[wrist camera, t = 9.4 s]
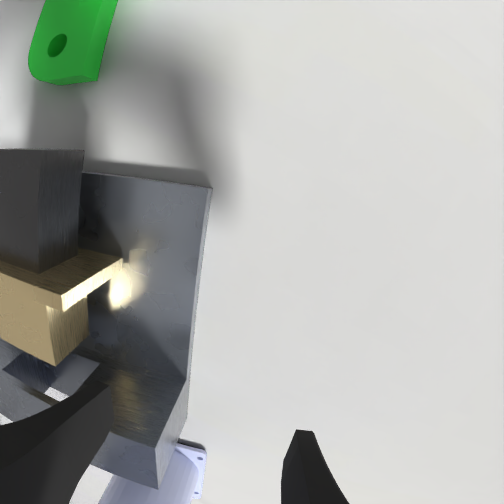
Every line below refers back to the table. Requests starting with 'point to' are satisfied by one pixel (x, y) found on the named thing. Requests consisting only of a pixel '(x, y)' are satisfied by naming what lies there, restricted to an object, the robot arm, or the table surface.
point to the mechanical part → (70, 40)
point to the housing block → (129, 322)
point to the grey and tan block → (45, 253)
